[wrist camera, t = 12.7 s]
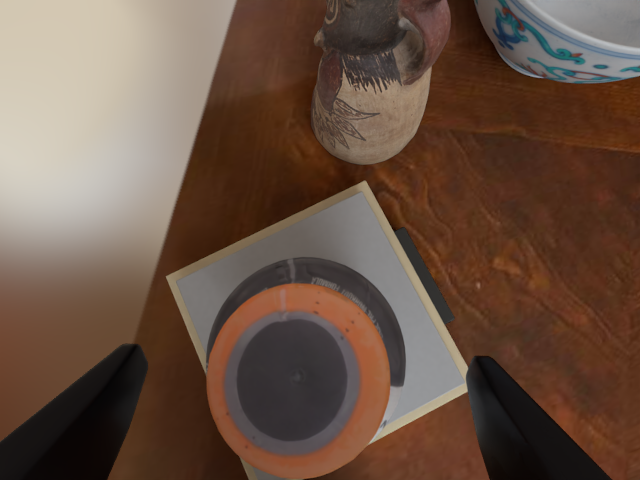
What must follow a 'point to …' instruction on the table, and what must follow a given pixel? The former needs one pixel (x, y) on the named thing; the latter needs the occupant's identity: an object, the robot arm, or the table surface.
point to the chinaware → (566, 37)
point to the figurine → (375, 74)
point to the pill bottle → (304, 367)
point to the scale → (360, 255)
